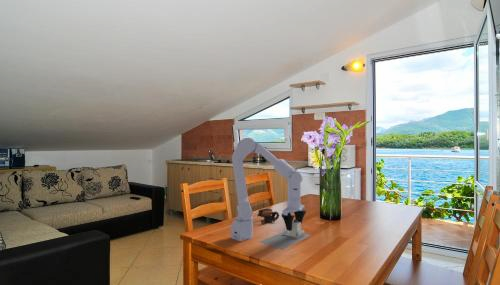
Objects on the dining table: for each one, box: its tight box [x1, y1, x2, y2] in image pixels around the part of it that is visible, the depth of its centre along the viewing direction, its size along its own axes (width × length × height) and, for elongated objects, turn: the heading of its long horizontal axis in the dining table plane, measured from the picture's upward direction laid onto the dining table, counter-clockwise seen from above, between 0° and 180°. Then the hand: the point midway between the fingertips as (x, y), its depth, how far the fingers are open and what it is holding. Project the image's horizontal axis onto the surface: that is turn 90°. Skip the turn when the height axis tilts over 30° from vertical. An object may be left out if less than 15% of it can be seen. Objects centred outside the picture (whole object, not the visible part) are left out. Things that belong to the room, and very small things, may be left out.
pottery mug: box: [256, 208, 280, 225], centre depth 155 cm, size 12×10×8 cm
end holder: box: [283, 228, 306, 239], centre depth 132 cm, size 6×8×2 cm
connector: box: [290, 218, 302, 236], centre depth 131 cm, size 3×4×6 cm
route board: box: [259, 231, 312, 250], centre depth 127 cm, size 22×12×1 cm, turn 138°
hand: (293, 228), depth 132 cm, fingers open, 7 cm apart
